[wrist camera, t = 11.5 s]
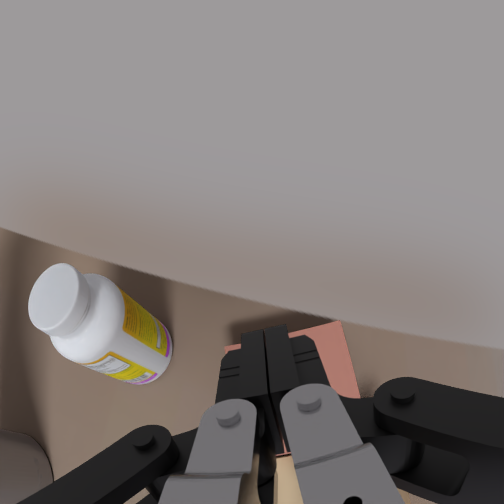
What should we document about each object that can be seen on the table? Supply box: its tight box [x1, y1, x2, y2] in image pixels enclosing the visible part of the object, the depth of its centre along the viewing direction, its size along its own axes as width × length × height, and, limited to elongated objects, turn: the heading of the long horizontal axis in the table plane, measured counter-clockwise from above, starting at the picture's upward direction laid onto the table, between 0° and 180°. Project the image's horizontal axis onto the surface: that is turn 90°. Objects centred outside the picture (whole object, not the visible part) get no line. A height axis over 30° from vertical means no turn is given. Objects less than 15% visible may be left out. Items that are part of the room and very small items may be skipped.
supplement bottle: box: [28, 263, 172, 384], centre depth 23 cm, size 7×7×13 cm
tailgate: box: [225, 320, 360, 456], centre depth 22 cm, size 9×1×9 cm
